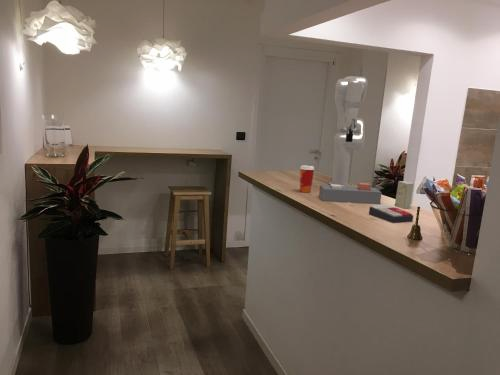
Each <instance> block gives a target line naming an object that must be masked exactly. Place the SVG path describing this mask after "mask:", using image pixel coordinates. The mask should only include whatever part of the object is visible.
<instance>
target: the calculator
mask: <svg viewBox="0 0 500 375" xmlns="http://www.w3.org/2000/svg"><path fill="white" fill-rule="evenodd" d="M368 214H369V216H370V215H371V216H373V217H377V218H379V219H381V220H383V221H386V222H389V223H392V224H398V223H399V224H400V223H411V222H413V220H414V215H413V214H412V213H410V212H408V211H406V210H403V209H402V208H401V209H400V208H398V207H397V206H395V207H394V206H392V205H389V204H386V205H385V204H384V205H371V206H369V210H368Z"/></svg>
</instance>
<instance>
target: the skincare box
mask: <svg viewBox="0 0 500 375" xmlns="http://www.w3.org/2000/svg"><path fill="white" fill-rule="evenodd" d="M414 185H415V184H414V183H413V182H409V181H405V180H398V182H397V187H396V188H397V189H396V195H395V202H394V206H395V207H397V208H398V207H399V208H401V209H410V208H411V203H412V198H413V191H414Z"/></svg>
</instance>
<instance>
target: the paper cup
mask: <svg viewBox="0 0 500 375" xmlns="http://www.w3.org/2000/svg"><path fill="white" fill-rule="evenodd" d="M299 169H300V172H299V173H300V174H299V177H300V179H299V182H300V183H299V191H300V193H302V192H303V193H304V194H310V193H311V192H312V184H313V178H314V172H315V167H314V165H313V166H312V165H305V164H304V165H300V167H299ZM303 193H302V194H303Z"/></svg>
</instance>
